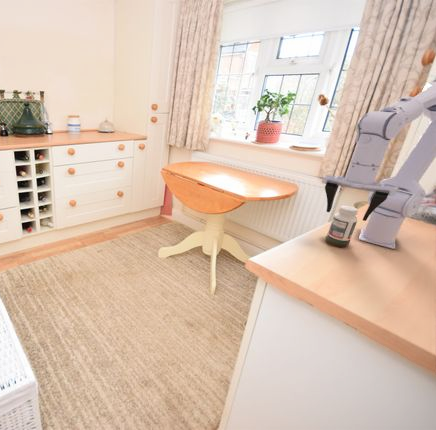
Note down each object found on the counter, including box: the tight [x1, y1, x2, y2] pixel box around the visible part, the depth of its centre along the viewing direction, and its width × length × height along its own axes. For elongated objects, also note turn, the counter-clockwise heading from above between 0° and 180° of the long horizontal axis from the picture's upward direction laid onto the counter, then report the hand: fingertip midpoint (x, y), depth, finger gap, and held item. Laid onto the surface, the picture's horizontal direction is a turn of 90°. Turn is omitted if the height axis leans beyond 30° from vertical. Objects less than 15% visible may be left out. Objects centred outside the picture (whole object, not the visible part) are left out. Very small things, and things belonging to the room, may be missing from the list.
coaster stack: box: [324, 232, 351, 249], centre depth 83 cm, size 6×6×2 cm
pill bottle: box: [327, 205, 359, 241], centre depth 81 cm, size 5×5×9 cm
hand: (345, 215), depth 76 cm, fingers open, 7 cm apart
